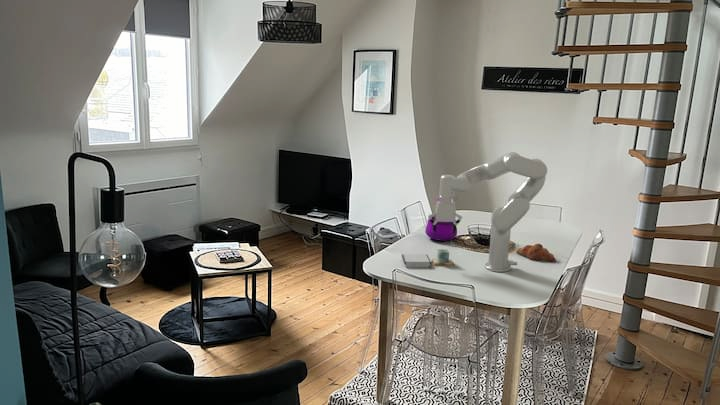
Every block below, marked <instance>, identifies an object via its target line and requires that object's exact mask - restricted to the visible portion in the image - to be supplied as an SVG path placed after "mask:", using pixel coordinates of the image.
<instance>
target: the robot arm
mask: <svg viewBox="0 0 720 405" xmlns="http://www.w3.org/2000/svg"><path fill="white" fill-rule="evenodd" d="M510 172H511V173H513V174H516V175H519V176H523V177H526V179H525V180H524V182H523V183H522V184H521V185H520V186H519V187H518V188H517V189H516V190H515V191H513V193H512V194H510V196H508V200H507V204H506V205H505V206H498V207H496V208H495V209H494V210H493V212H492V214H491V220H490V222H491V223H490V224H491V225H490V239H489V249H488V250H489V251H488V261H487V262H486V263H484V267H485V269H487V270H488V271H492V272H496V273H505V272H509V271H510V270H511V266H517V265H518V261H514V260H510V259H509V251H510V242H511V231H512V230H511V229H512V228H513V227H514V226H515V225H516V224H518V222H520V221H521V219H522V218H523V217H524V216H525V215H527V213H528V212H529V210H530V208H531V202H532V200H533V199H534V198H535V197H536V196H537V195H538V194H539V193H540V192H541V190H542V189H543V187H544V185H545V182H546V176H547V174H548V167H547V165H546V164H545V163H544V161H542V159H539V158H532V159H531V158H528V157H524V156H522V155H520V154H519V153H517V152H514V151H513V152H508V153H506V154H504V155H501V156H499V157H497V158H495V159H492V160H491V161H488V162H486V163H483V164H481V165H479V166H475V167H473V168H471V169H469V170H466V171H464V172H462V173H459V175H458V176H454V175H452V174H442V175H441V176H440V179H439V182H440V183H439V194H438V196H439V201H437V200H436V203H435V208H434V210H435V211H434V212H433V213H430V214H429V215H427V219H428V218H429V220H430V221H431V223H432V224H433V230H434V233H436V223H437V222H438V221H439V222H453V225H452V232H453V233H455V231H456V227H457V225H458V224H460V222H461V221H462V219H463V216H461V215H460V214H458V213H457V211H456V202H455V201H457V200H458V198H457V197H456V196H455V192H461V193H465V192H467V191H469V190H470V189H471V186H472V185H474V184H476V183H478V182H481V181H487V180H488V181H489V180H490V181H491V180H495V179H497V178H499V177H501V176H503V175H505V174H508V173H510ZM433 216H435V220H434V221H433V220H432V217H433ZM456 218H457V220H456ZM455 220H456V221H455Z"/></svg>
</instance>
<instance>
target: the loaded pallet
mask: <svg viewBox="0 0 720 405" xmlns="http://www.w3.org/2000/svg"><path fill="white" fill-rule="evenodd" d="M431 263H433V266H434V267H435V266H436V267H437V266H438V267H439V266H441V267H442V266H448V267H449V266H455V265H454V264H455V263H454V262H453V260H452V258H451V259H450V251H449V250H448V249H446V248H445V249H444V248H441V249H437V257H436V258H432V261H431Z"/></svg>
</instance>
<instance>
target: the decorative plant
mask: <svg viewBox="0 0 720 405" xmlns="http://www.w3.org/2000/svg"><path fill="white" fill-rule="evenodd" d="M437 201H439V195H438V196H437V197H436V202H437ZM432 220H433V221H434V220H435V216H433V217H432ZM455 221H457V220H456V219H455ZM452 225H453V222H439V221H438V222H437V223H436V233H434V230H433V224H432V223H431V221H430V220H429V218H428V217H427V223H426V226H425V232H424V233H425V234H426V236H427V237H428V238H430V239H433V240H434V241H435V240H436V241H443V242H444V241H449V240H452V239H454V238H456V236H457V235H458V228H457V226H456V231H455V233H453V232H452Z"/></svg>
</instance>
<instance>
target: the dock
mask: <svg viewBox="0 0 720 405" xmlns="http://www.w3.org/2000/svg"><path fill="white" fill-rule="evenodd" d="M401 258H402V261H403V264H404V266H405V268H430V265H432V261H431V259H430V258H429V255H428V254H427V253H426V254H425V253H403V254H402V253H401Z"/></svg>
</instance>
